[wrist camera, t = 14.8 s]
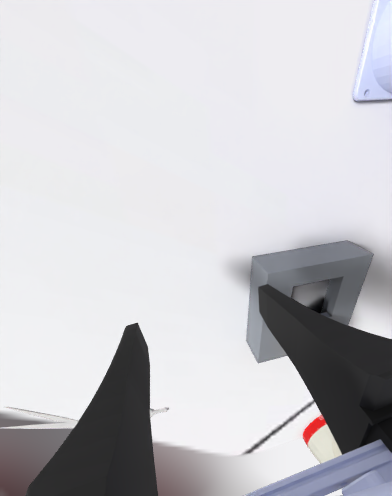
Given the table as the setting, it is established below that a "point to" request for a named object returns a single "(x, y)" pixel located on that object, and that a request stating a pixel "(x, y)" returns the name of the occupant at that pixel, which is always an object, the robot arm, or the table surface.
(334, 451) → the kitchen timer
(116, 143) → the table surface
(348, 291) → the square hole plate
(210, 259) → the table surface
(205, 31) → the table surface
